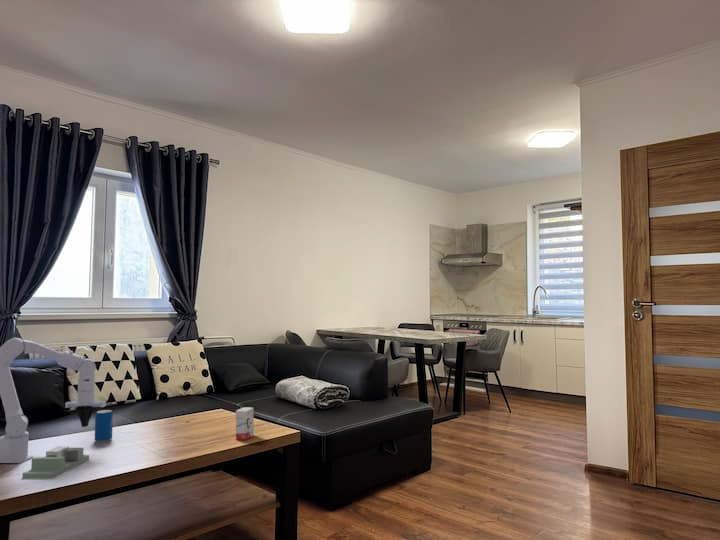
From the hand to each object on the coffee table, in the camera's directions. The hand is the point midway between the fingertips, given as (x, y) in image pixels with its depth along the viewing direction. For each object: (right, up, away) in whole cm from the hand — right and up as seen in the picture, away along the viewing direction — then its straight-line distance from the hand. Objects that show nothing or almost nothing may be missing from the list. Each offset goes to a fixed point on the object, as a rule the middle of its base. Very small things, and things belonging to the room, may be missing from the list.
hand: (84, 426), depth 188 cm
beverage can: (0, -11, +14) cm, 18 cm away
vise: (+2, -8, -21) cm, 22 cm away
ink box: (+58, -11, +17) cm, 61 cm away
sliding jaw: (+2, -7, -16) cm, 18 cm away
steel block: (+2, -6, -21) cm, 22 cm away
